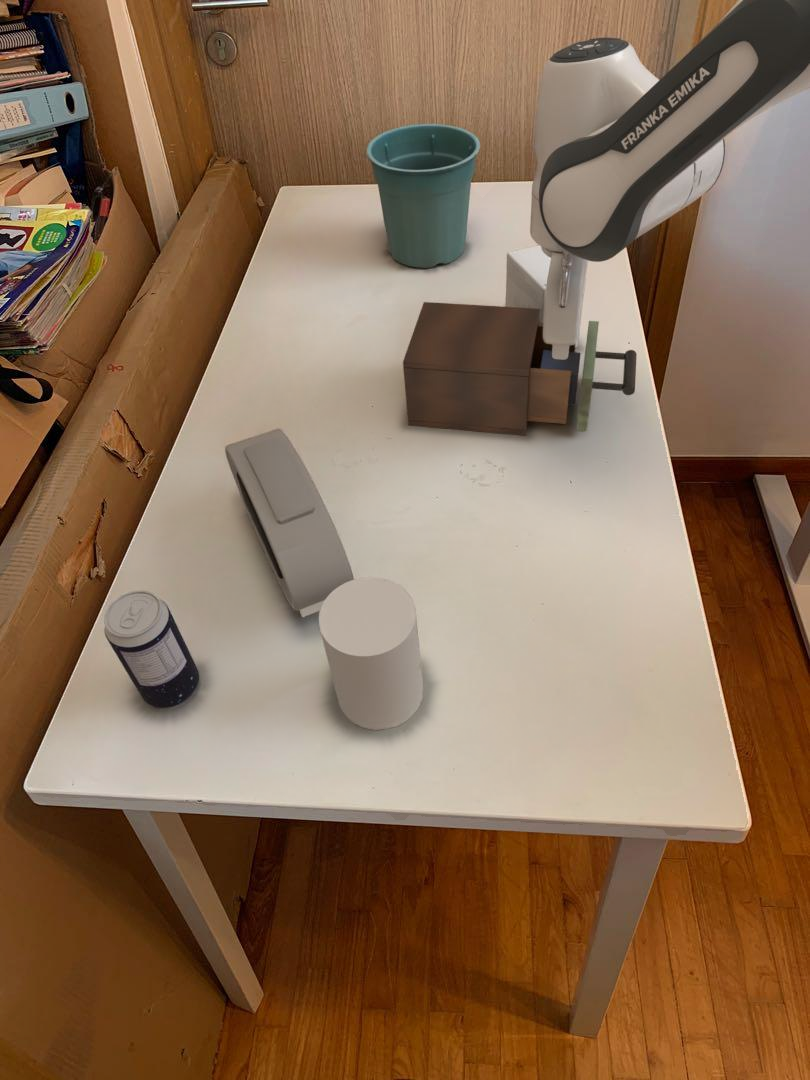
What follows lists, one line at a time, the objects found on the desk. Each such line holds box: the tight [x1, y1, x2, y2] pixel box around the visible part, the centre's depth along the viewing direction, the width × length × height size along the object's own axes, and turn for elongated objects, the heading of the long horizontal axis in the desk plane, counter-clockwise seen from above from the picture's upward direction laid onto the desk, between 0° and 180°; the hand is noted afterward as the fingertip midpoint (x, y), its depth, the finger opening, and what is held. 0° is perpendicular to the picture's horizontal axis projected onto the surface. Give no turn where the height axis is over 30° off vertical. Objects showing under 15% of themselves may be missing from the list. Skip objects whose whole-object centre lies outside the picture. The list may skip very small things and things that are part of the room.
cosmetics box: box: [504, 244, 587, 349], centre depth 109 cm, size 10×6×10 cm, turn 22°
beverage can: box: [103, 590, 200, 709], centre depth 74 cm, size 6×6×12 cm
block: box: [540, 350, 582, 406], centre depth 100 cm, size 4×4×4 cm
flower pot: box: [366, 123, 481, 269], centre depth 124 cm, size 16×16×16 cm
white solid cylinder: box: [318, 576, 425, 731], centre depth 73 cm, size 8×8×12 cm
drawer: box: [527, 320, 637, 433], centre depth 99 cm, size 18×11×8 cm, turn 78°
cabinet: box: [402, 301, 540, 436], centre depth 101 cm, size 15×13×10 cm
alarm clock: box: [224, 428, 355, 619], centre depth 84 cm, size 23×6×13 cm, turn 24°
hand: (563, 331), depth 95 cm, fingers open, 8 cm apart
